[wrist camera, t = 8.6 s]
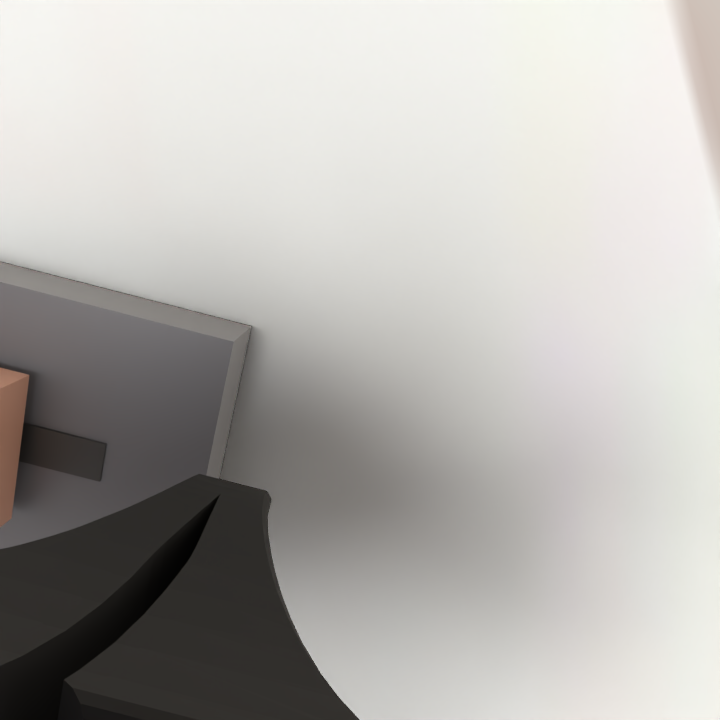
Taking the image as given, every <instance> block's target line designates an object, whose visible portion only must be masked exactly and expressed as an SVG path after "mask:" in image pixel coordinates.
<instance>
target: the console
mask: <svg viewBox="0 0 720 720" xmlns="http://www.w3.org/2000/svg"><path fill="white" fill-rule="evenodd" d="M251 327H252V326H249V325H245V324H241V323H237V322H233V321H229V320H225V319H221V318H218V317H214V316H210V315H206V314H202V313H198V312H194V311H190V310H186V309H182V308H179V307H175V306H171V305H167V304H163V303H159V302H155V301H151V300H147V299H144V298H140V297H136V296H132V295H128V294H124V293H120V292H116V291H112V290H108V289H105V288H101V287H97V286H93V285H89V284H85V283H81V282H77V281H73V280H70V279H66V278H62V277H58V276H54V275H50V274H46V273H42V272H38V271H34V270H31V269H27V268H23V267H19V266H15V265H11V264H7V263H3V262H0V368H4V369H8V370H12V371H16V372H20V373H24V374H28V375H29V383H28V391H27V399H26V407H25V415H24V423H23V431H22V439H21V447H20V455H19V463H18V471H17V479H16V487H15V495H14V503H13V511H12V518H11V519H10V520H9V521H8V522H6V523H5V524H4V525H3V526H1V527H0V549H3V548H8V547H13V546H17V545H21V544H24V543H28V542H31V541H35V540H39V539H42V538H46V537H49V536H53V535H56V534H59V533H62V532H65V531H68V530H71V529H74V528H77V527H80V526H83V525H85V524H88V523H90V522H93V521H95V520H98V519H100V518H103V517H105V516H108V515H110V514H113V513H115V512H118V511H120V510H123V509H125V508H128V507H130V506H132V505H134V504H136V503H139V502H141V501H143V500H145V499H147V498H149V497H151V496H153V495H156V494H158V493H160V492H162V491H164V490H166V489H168V488H170V487H172V486H174V485H176V484H178V483H180V482H182V481H184V480H186V479H188V478H191V477H193V476H195V475H198V474H202V475H206V476H210V477H214V478H218V479H219V478H220V474H221V469H222V464H223V459H224V455H225V450H226V445H227V441H228V436H229V431H230V426H231V422H232V417H233V412H234V407H235V403H236V398H237V393H238V388H239V384H240V379H241V374H242V369H243V365H244V360H245V355H246V351H247V346H248V341H249V336H250V332H251Z"/></svg>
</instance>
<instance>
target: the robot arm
mask: <svg viewBox="0 0 720 720" xmlns="http://www.w3.org/2000/svg"><path fill="white" fill-rule="evenodd" d="M270 503H271V497H270V495H269V494H268V492H267V491H265V490H261V489H257V488H253V487H249V486H245V485H241V484H237V483H233V482H230V481H226V480H222V479H218V478H214V477H210V476H206V475H202V474H198V475H195V476H193V477H191V478H188V479H186V480H184V481H182V482H180V483H178V484H176V485H174V486H172V487H170V488H168V489H166V490H164V491H162V492H160V493H158V494H156V495H153V496H151V497H149V498H147V499H145V500H143V501H141V502H139V503H136V504H134V505H132V506H130V507H128V508H125V509H123V510H120V511H118V512H115V513H113V514H110V515H108V516H105V517H103V518H100V519H98V520H95V521H93V522H90V523H88V524H85V525H83V526H80V527H77V528H74V529H71V530H68V531H65V532H62V533H59V534H56V535H53V536H49V537H46V538H42V539H39V540H35V541H31V542H28V543H24V544H21V545H17V546H13V547H8V548H3V549H0V720H359V719H358V718H357V717H356V716H355V714H354V713H353V712H352V711H351V710H350V709H349V708H348V707H347V706H346V705H345V704H344V703H343V702H342V700H341V699H340V698H339V697H338V696H337V695H336V693H335V692H334V691H333V689H332V688H331V687H330V685H329V684H328V683H327V681H326V680H325V679H324V677H323V676H322V675H321V673H320V671H319V670H318V668H317V666H316V665H315V663H314V661H313V660H312V658H311V656H310V655H309V653H308V651H307V650H306V648H305V646H304V645H303V643H302V641H301V639H300V637H299V635H298V633H297V631H296V629H295V626H294V624H293V622H292V620H291V618H290V615H289V613H288V610H287V608H286V605H285V603H284V600H283V597H282V594H281V591H280V588H279V584H278V581H277V577H276V573H275V569H274V565H273V560H272V556H271V549H270V543H269V536H268V512H269V507H270Z"/></svg>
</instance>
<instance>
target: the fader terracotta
mask: <svg viewBox="0 0 720 720" xmlns="http://www.w3.org/2000/svg"><path fill="white" fill-rule="evenodd" d="M28 383H29V375H28V374H24V373H20V372H16V371H12V370H8V369H4V368H0V527H1V526H3V525H4V524H5V523H6V522H8V521H9V520H10V519H11V518H12V511H13V503H14V495H15V487H16V479H17V471H18V463H19V455H20V447H21V439H22V431H23V423H24V415H25V407H26V399H27V391H28Z"/></svg>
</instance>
